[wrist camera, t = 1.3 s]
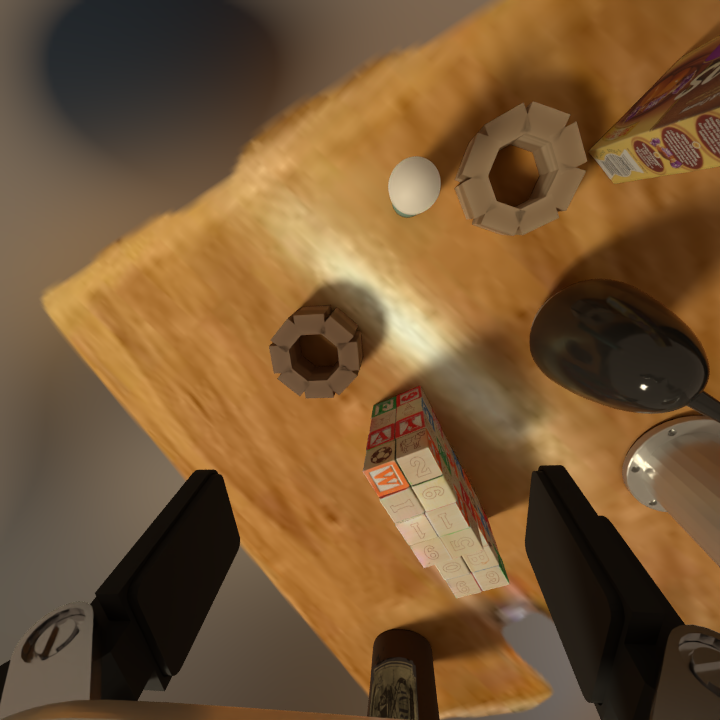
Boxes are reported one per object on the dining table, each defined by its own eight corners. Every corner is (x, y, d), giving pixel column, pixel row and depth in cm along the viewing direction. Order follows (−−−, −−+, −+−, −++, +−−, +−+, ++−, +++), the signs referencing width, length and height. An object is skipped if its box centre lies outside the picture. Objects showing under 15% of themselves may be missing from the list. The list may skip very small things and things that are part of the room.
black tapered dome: (575, 387, 38) (681, 483, 24) (496, 339, 37) (558, 411, 23) (649, 308, 34) (826, 366, 20) (564, 253, 33) (687, 273, 19)
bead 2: (543, 97, 29) (565, 78, 25) (573, 202, 32) (597, 198, 28) (441, 155, 31) (447, 145, 28) (477, 248, 34) (487, 251, 30)
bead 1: (358, 303, 37) (354, 312, 33) (365, 380, 40) (361, 396, 36) (276, 308, 38) (263, 317, 34) (289, 383, 41) (278, 399, 37)
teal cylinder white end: (424, 180, 32) (440, 153, 20) (425, 216, 33) (440, 211, 21) (390, 183, 33) (387, 159, 21) (392, 219, 34) (389, 216, 22)
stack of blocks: (489, 517, 46) (520, 615, 34) (444, 531, 47) (459, 629, 36) (419, 383, 40) (429, 447, 28) (371, 404, 41) (361, 472, 30)
